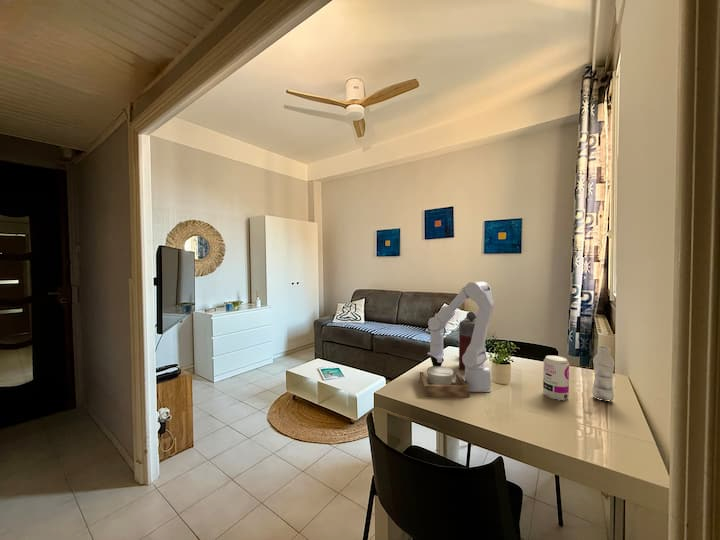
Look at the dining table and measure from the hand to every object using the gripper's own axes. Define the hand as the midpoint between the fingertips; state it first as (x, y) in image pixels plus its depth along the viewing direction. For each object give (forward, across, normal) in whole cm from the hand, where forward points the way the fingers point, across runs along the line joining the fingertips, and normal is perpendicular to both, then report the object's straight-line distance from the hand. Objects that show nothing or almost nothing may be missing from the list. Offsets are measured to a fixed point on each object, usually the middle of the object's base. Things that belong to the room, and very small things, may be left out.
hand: (436, 372), depth 137 cm
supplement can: (+2, +18, +42) cm, 46 cm away
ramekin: (+2, +7, 0) cm, 7 cm away
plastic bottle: (+2, +20, +58) cm, 61 cm away
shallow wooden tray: (+1, +13, 0) cm, 13 cm away
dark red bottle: (+2, -11, +19) cm, 22 cm away
